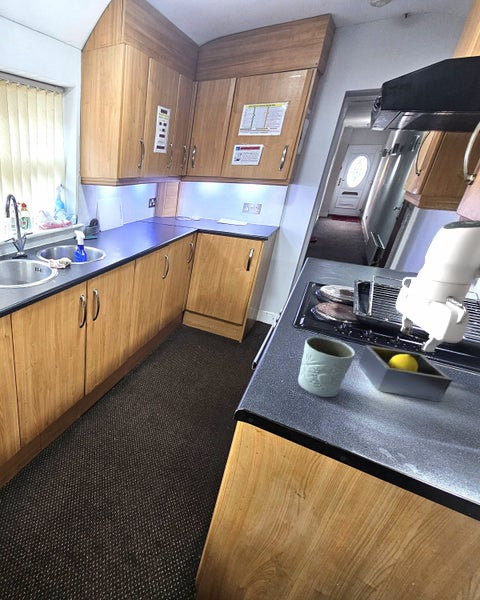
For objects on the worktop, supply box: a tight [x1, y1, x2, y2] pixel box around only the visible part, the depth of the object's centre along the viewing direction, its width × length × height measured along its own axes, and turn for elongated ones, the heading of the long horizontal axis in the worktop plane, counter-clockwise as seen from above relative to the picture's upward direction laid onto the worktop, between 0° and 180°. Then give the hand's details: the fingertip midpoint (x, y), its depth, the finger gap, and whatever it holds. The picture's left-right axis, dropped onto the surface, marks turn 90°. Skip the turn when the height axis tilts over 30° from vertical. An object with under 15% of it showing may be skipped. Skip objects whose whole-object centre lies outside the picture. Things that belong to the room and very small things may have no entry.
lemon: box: [388, 354, 418, 372], centre depth 86 cm, size 6×6×8 cm
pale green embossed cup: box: [297, 336, 356, 398], centre depth 83 cm, size 10×10×12 cm
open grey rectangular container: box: [357, 344, 453, 403], centre depth 86 cm, size 13×13×7 cm
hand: (415, 341), depth 83 cm, fingers open, 8 cm apart
